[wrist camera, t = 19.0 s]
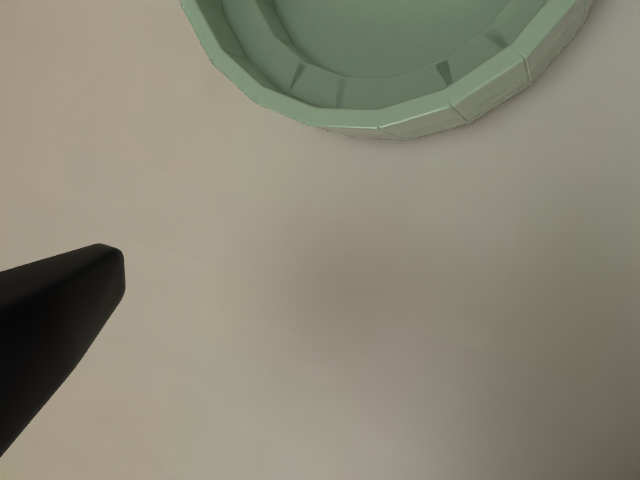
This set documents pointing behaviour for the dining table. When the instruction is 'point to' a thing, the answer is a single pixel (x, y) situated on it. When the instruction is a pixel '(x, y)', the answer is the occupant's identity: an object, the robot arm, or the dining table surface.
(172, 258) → the dining table surface
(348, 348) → the dining table surface
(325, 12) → the bowl
